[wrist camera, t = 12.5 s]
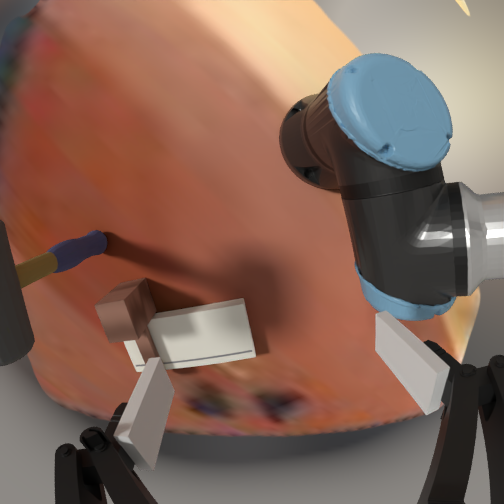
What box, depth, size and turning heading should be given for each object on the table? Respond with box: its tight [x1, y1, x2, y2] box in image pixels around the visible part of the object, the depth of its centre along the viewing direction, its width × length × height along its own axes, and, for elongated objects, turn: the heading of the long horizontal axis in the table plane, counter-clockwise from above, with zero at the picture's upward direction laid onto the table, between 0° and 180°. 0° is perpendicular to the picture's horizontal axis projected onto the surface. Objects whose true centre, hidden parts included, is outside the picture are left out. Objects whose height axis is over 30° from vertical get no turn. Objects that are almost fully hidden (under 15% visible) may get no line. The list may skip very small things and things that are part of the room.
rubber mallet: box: [0, 220, 107, 366], centre depth 27 cm, size 12×8×30 cm, turn 7°
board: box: [124, 298, 256, 372], centre depth 45 cm, size 10×22×3 cm, turn 101°
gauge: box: [94, 278, 166, 370], centre depth 40 cm, size 17×5×10 cm, turn 12°
